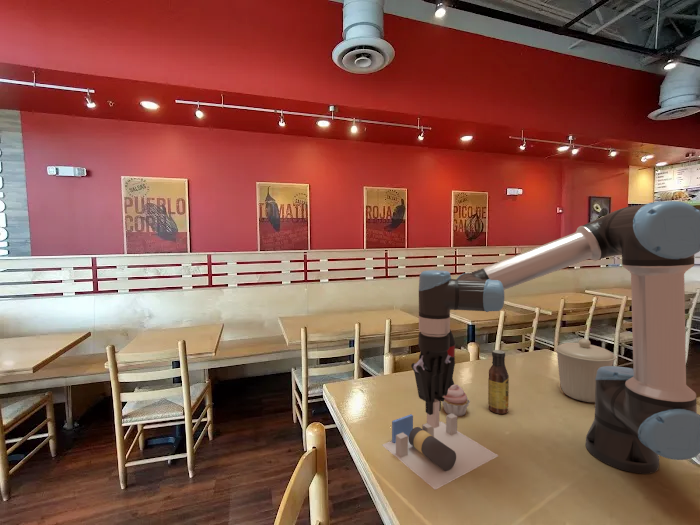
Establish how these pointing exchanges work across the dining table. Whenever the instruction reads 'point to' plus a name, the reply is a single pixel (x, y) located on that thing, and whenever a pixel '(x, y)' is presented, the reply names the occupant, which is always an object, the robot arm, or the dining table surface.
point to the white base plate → (464, 447)
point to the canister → (581, 368)
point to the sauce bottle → (498, 384)
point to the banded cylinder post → (432, 448)
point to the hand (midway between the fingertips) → (433, 424)
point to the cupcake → (455, 401)
